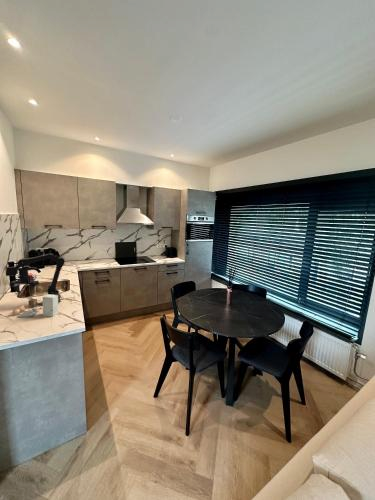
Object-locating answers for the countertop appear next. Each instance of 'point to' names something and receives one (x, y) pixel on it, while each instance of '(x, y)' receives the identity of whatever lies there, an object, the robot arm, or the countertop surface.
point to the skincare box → (50, 305)
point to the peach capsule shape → (16, 312)
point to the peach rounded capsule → (21, 309)
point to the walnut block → (32, 303)
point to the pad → (27, 314)
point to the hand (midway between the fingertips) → (25, 293)
